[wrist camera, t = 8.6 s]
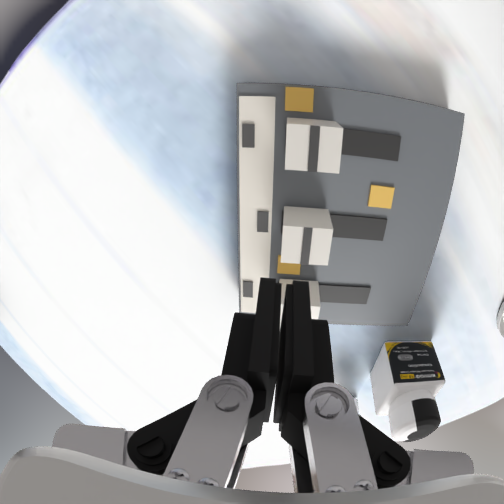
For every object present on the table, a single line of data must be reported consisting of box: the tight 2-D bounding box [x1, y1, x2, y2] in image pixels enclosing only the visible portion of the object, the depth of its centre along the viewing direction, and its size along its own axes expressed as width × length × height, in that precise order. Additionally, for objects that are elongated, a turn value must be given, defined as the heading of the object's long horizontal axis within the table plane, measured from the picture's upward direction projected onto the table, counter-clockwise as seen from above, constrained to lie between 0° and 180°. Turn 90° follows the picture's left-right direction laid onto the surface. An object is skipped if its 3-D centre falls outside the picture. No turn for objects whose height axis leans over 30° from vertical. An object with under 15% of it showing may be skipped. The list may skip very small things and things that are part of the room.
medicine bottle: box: [370, 341, 445, 442], centre depth 32 cm, size 7×7×12 cm
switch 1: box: [285, 117, 343, 174], centre depth 20 cm, size 4×3×4 cm
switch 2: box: [281, 206, 333, 266], centre depth 23 cm, size 4×3×4 cm
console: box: [237, 83, 465, 326], centre depth 26 cm, size 18×22×3 cm
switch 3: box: [279, 279, 321, 327], centre depth 27 cm, size 4×3×4 cm
